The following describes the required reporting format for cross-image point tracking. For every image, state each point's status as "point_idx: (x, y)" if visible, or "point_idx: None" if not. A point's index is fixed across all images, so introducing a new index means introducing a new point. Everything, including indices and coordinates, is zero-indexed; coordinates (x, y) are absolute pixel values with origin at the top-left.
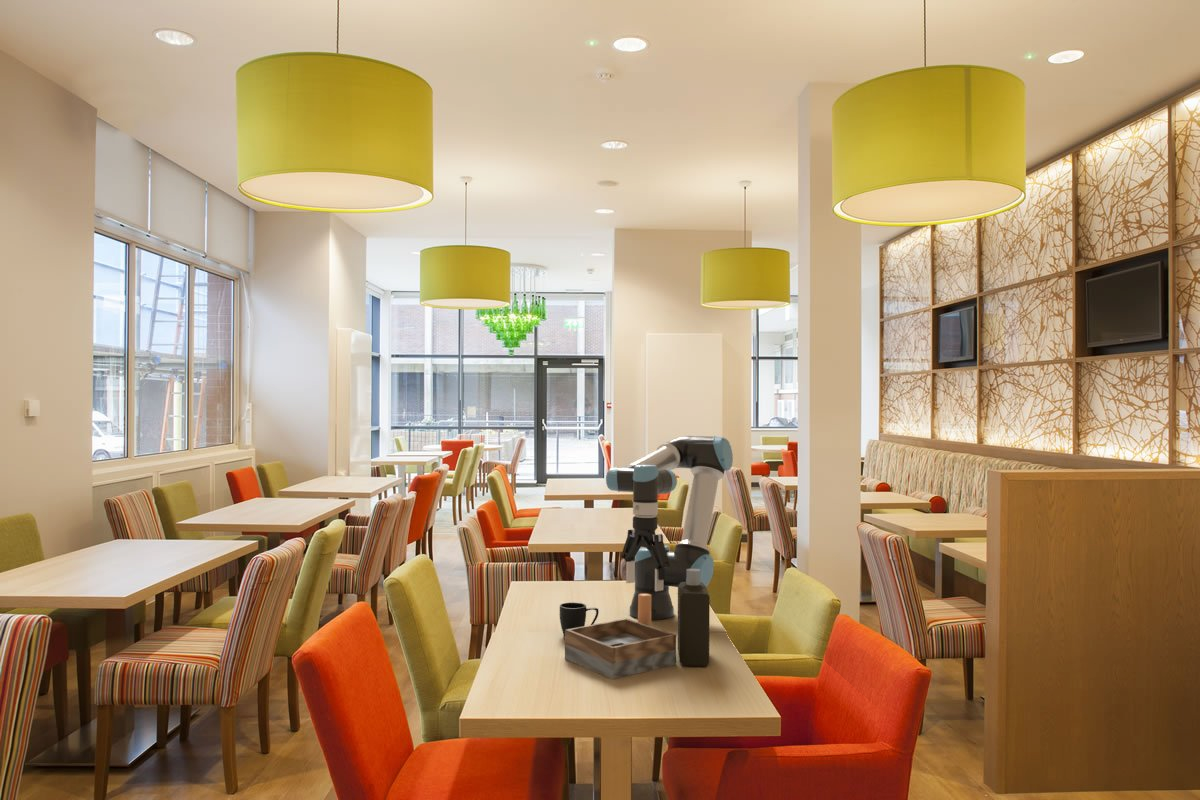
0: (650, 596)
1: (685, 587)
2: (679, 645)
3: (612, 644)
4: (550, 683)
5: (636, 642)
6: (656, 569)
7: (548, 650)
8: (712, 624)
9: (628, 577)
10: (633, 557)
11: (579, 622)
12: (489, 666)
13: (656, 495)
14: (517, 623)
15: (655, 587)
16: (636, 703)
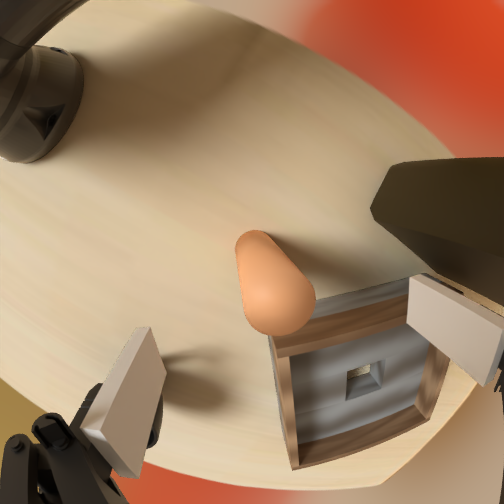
0: (311, 285)
1: None
2: (448, 274)
3: (344, 389)
4: (363, 450)
5: (440, 384)
6: (489, 378)
7: (223, 438)
8: (192, 2)
9: (158, 391)
10: (95, 471)
11: (161, 404)
12: (262, 487)
13: None
14: (44, 401)
15: (420, 329)
16: (463, 379)
